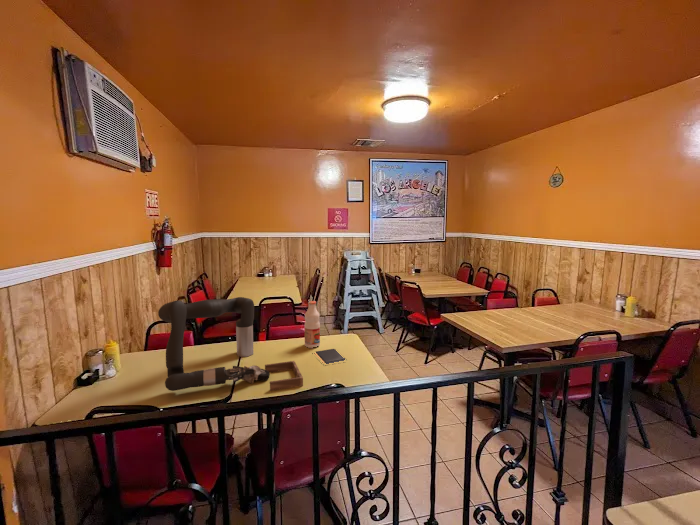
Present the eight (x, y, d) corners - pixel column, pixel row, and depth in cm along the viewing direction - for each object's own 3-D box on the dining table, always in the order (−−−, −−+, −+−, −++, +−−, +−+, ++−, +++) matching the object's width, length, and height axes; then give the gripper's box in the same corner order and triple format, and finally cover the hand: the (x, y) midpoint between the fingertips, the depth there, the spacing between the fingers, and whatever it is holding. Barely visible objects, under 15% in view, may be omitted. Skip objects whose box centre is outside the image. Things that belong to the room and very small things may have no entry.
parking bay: (265, 372, 176) (264, 364, 176) (294, 367, 182) (294, 360, 181) (270, 390, 157) (270, 382, 157) (302, 385, 163) (302, 377, 162)
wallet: (348, 359, 190) (322, 363, 184) (348, 362, 190) (322, 367, 184) (335, 346, 208) (311, 350, 202) (335, 349, 209) (311, 353, 203)
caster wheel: (270, 381, 172) (260, 387, 162) (251, 373, 175) (240, 379, 165) (274, 368, 172) (263, 374, 162) (254, 361, 174) (243, 366, 165)
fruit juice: (306, 342, 218) (306, 299, 214) (320, 343, 218) (320, 300, 214) (303, 348, 209) (303, 303, 205) (318, 348, 208) (318, 303, 205)
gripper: (213, 374, 151) (254, 369, 157) (214, 362, 163) (252, 358, 169) (214, 390, 152) (255, 384, 158) (215, 377, 164) (252, 372, 170)
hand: (253, 370), depth 163 cm, fingers closed
